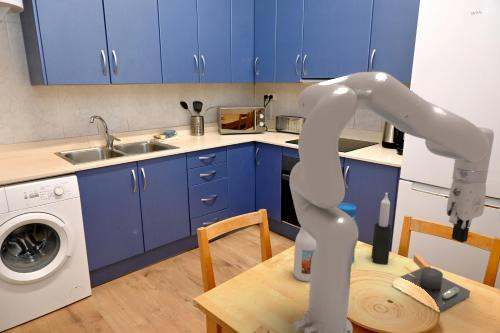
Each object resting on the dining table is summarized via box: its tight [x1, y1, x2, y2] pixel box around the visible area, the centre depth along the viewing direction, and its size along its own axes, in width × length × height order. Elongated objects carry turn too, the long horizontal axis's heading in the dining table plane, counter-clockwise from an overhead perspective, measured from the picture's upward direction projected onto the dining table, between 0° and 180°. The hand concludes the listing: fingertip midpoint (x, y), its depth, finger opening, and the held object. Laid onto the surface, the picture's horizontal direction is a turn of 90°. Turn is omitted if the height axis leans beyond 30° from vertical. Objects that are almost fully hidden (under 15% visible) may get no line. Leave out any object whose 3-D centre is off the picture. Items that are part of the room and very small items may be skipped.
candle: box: [371, 192, 392, 265], centre depth 118 cm, size 5×5×25 cm
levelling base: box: [400, 268, 471, 313], centre depth 103 cm, size 15×15×4 cm
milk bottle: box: [293, 226, 316, 283], centre depth 109 cm, size 8×8×20 cm
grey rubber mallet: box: [413, 254, 444, 290], centre depth 106 cm, size 13×6×4 cm, turn 0°
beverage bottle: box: [337, 202, 358, 264], centre depth 120 cm, size 8×8×20 cm
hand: (459, 240), depth 94 cm, fingers closed
